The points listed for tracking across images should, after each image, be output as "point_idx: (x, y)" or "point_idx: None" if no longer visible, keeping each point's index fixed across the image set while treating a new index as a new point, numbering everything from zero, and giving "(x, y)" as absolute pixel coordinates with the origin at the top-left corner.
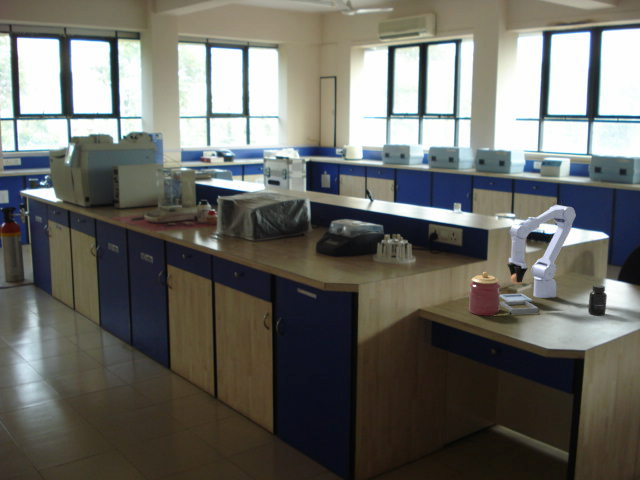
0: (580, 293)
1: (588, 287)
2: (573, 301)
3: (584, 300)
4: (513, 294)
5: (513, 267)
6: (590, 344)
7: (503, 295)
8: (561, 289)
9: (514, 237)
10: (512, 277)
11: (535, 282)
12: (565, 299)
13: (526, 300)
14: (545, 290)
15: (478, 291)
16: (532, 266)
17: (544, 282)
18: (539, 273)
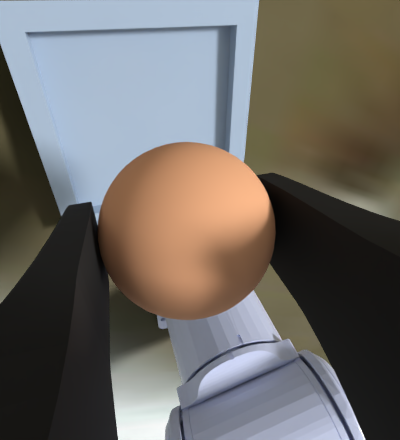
0: None
1: None
2: (122, 368)
3: (137, 390)
4: (233, 137)
5: (395, 335)
6: None
7: (234, 37)
8: (293, 340)
9: None
10: (174, 178)
11: (227, 328)
12: (157, 348)
13: (51, 187)
14: (168, 330)
15: None
16: (357, 429)
17: (182, 376)
18: (231, 425)
